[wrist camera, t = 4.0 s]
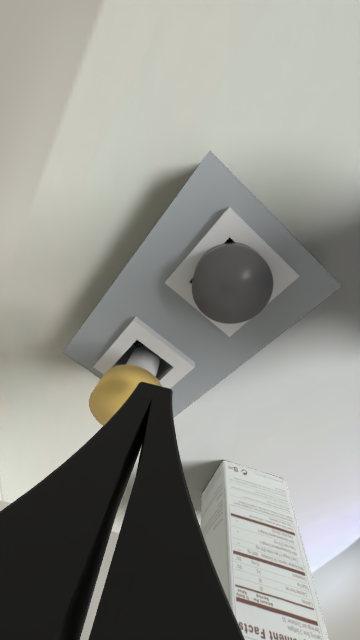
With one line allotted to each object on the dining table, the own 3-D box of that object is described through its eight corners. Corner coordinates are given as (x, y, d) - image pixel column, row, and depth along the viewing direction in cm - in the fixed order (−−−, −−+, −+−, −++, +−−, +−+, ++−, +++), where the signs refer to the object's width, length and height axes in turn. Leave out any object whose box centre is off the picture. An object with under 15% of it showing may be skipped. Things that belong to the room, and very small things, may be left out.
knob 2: (269, 263, 16) (291, 285, 12) (226, 303, 18) (231, 337, 13) (226, 220, 15) (231, 228, 11) (185, 267, 17) (175, 290, 12)
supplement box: (257, 511, 29) (286, 708, 18) (199, 493, 29) (191, 680, 17) (288, 478, 26) (348, 695, 14) (222, 457, 25) (231, 660, 14)
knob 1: (183, 358, 17) (174, 411, 13) (151, 388, 19) (132, 444, 14) (139, 325, 16) (113, 369, 12) (109, 359, 18) (76, 408, 14)
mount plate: (320, 272, 16) (347, 289, 13) (171, 397, 22) (164, 429, 19) (210, 160, 14) (209, 147, 11) (82, 333, 20) (58, 357, 17)
